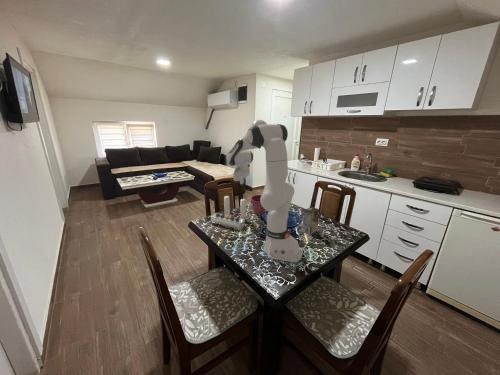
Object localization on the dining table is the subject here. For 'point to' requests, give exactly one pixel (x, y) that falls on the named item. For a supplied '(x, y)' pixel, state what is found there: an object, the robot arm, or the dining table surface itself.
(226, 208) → the cord post far
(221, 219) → the grey tube rack
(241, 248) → the dining table surface
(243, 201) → the cord post near
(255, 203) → the plant pot
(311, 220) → the coffee box
